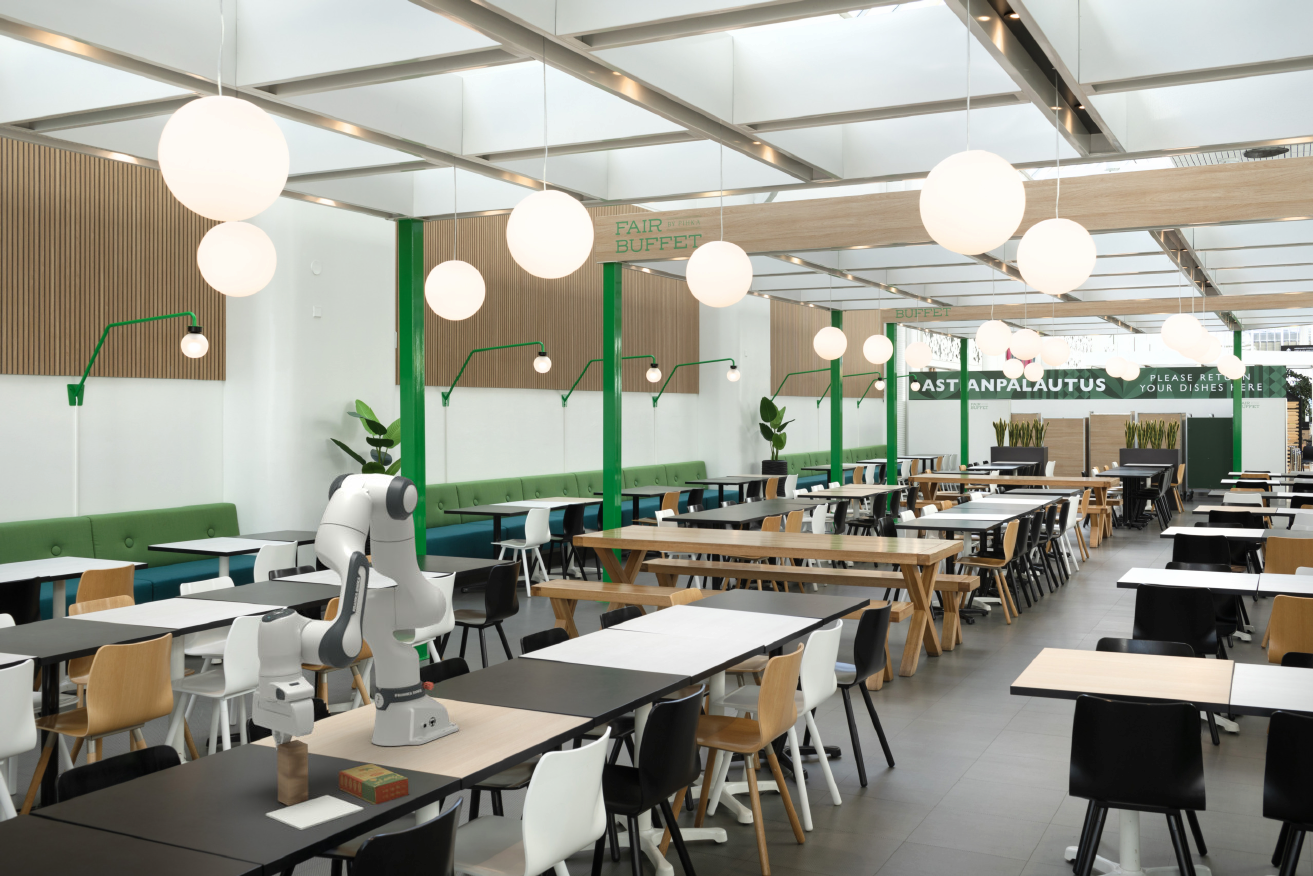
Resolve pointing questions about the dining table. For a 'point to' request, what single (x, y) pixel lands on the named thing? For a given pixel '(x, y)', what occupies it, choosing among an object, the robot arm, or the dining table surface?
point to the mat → (314, 812)
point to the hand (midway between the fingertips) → (282, 750)
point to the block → (292, 772)
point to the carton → (373, 783)
